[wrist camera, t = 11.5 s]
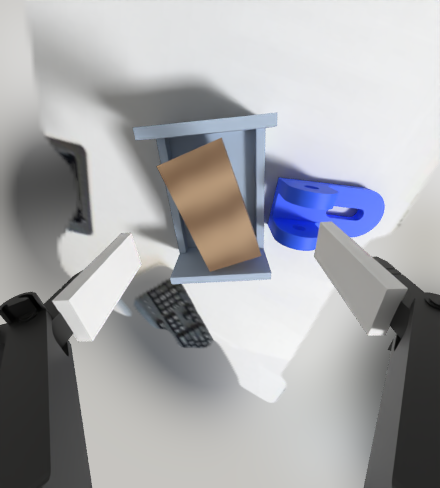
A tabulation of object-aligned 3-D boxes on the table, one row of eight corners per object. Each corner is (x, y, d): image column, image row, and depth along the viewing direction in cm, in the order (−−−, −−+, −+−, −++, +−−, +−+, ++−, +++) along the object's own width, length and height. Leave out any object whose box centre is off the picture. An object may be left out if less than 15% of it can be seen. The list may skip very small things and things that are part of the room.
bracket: (267, 223, 37) (278, 247, 29) (278, 177, 33) (294, 190, 26) (363, 234, 38) (399, 261, 30) (385, 189, 34) (433, 206, 26)
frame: (159, 129, 31) (132, 127, 22) (262, 119, 30) (277, 112, 21) (183, 251, 40) (171, 284, 32) (261, 246, 39) (270, 279, 31)
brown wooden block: (256, 237, 34) (261, 256, 29) (212, 251, 36) (209, 271, 31) (221, 137, 27) (220, 138, 22) (169, 160, 29) (156, 166, 24)
